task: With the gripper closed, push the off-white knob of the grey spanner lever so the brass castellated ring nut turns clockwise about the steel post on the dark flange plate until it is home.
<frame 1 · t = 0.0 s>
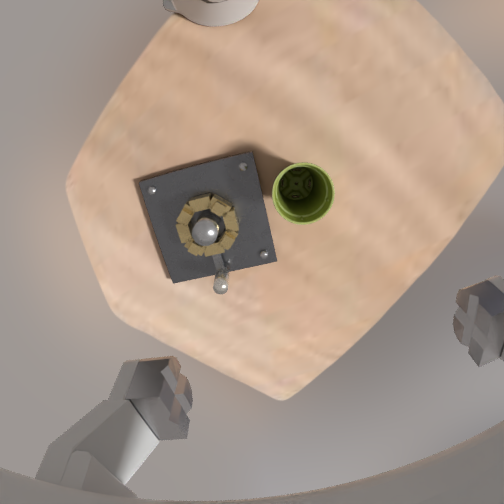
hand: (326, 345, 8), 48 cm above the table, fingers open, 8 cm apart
flange plate: (209, 219, 57), on the table
plant pot: (295, 182, 55), on the table
ring nut: (211, 244, 53), point 5 cm above the table, hinge at 0.0°
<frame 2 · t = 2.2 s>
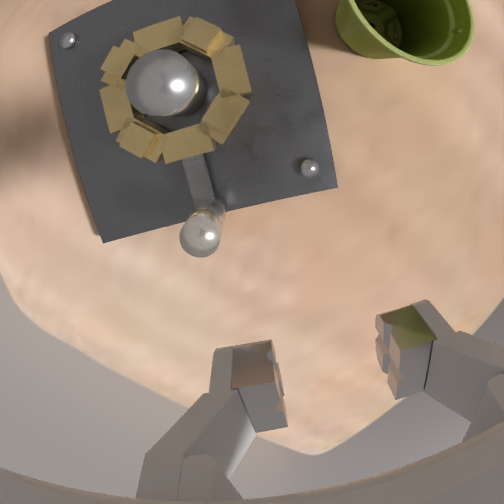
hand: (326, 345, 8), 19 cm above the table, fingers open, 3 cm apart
flange plate: (183, 92, 22), on the table
plant pot: (367, 27, 20), on the table
ring nut: (179, 126, 19), point 5 cm above the table, hinge at 0.0°
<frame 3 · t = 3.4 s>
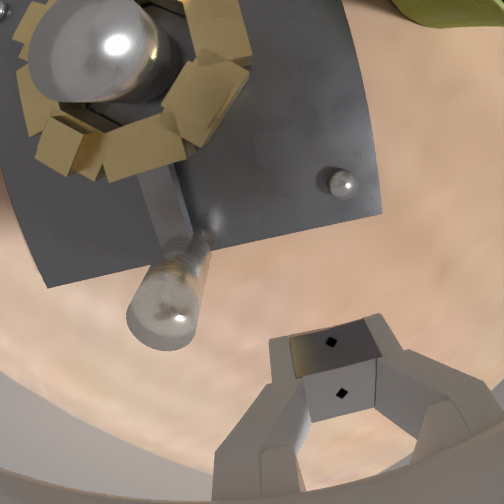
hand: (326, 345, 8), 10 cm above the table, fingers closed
flange plate: (146, 67, 14), on the table
ring nut: (125, 119, 10), point 5 cm above the table, hinge at 0.0°
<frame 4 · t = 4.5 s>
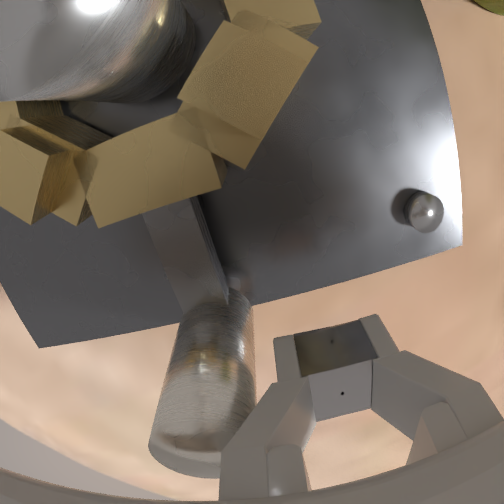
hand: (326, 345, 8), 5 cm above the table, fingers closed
flange plate: (147, 54, 10), on the table
ring nut: (117, 126, 6), point 5 cm above the table, hinge at 0.0°, touching gripper
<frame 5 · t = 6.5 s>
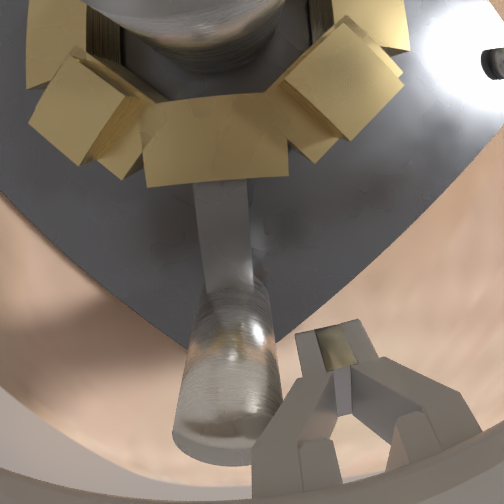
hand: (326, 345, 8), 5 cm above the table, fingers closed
flange plate: (216, 28, 9), on the table
ring nut: (205, 87, 6), point 5 cm above the table, hinge at 42.5°, touching gripper
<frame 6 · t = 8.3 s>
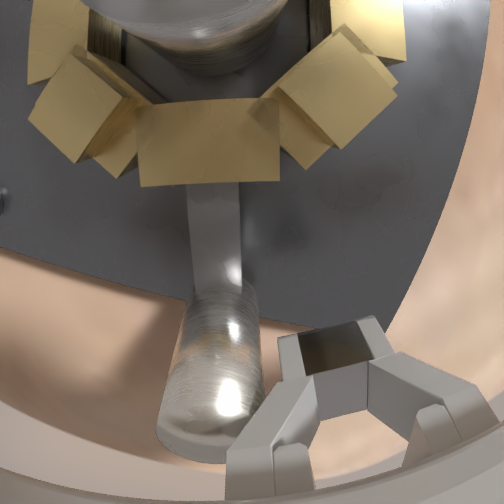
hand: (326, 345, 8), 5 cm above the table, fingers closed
flange plate: (217, 31, 9), on the table
ring nut: (201, 91, 6), point 5 cm above the table, hinge at 73.6°, touching gripper
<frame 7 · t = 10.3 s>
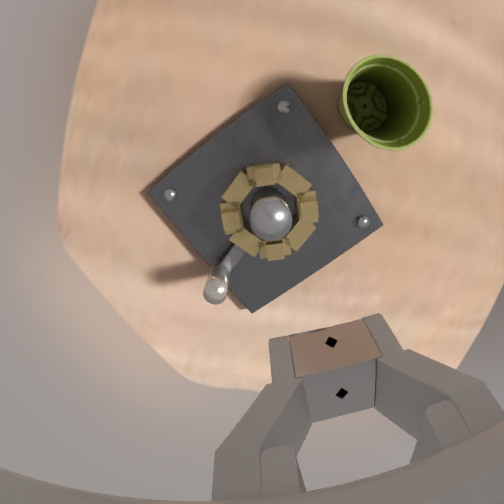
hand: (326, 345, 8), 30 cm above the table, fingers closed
flange plate: (268, 203, 38), on the table
plant pot: (361, 106, 33), on the table
ring nut: (253, 235, 34), point 5 cm above the table, hinge at 73.6°
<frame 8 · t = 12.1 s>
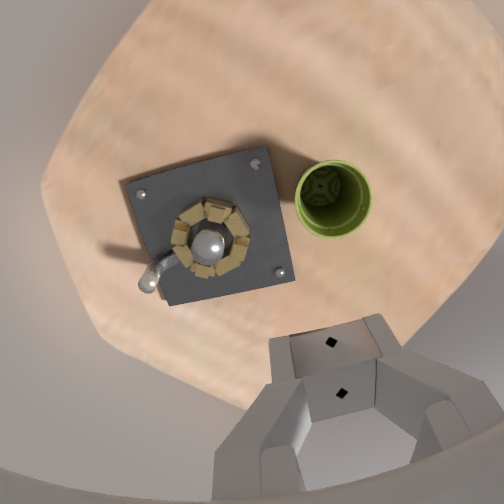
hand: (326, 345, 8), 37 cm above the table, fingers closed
flange plate: (212, 230, 46), on the table
plant pot: (318, 185, 44), on the table
ring nut: (191, 252, 42), point 5 cm above the table, hinge at 73.6°
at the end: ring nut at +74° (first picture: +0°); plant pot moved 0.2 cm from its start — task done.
